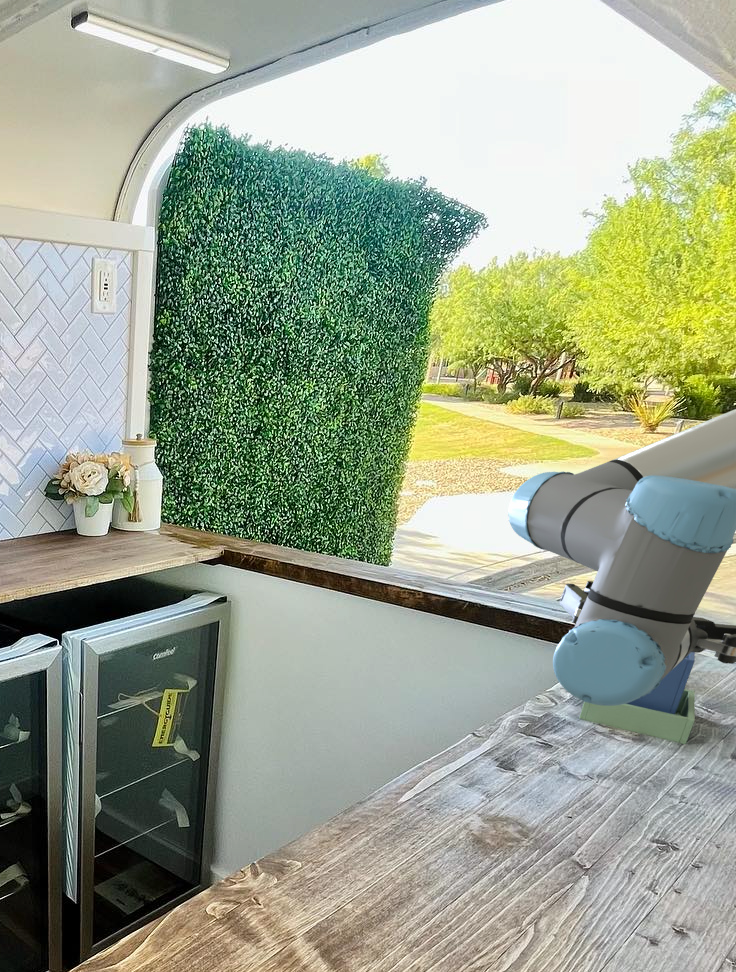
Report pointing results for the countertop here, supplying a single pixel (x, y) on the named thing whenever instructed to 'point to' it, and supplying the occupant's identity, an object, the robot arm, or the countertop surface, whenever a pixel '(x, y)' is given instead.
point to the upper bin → (668, 689)
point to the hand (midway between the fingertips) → (681, 609)
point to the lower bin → (646, 718)
